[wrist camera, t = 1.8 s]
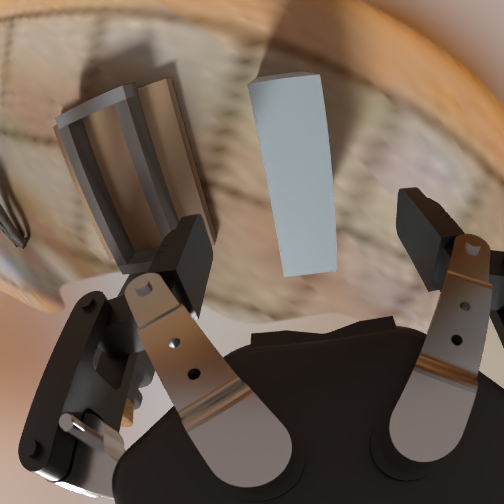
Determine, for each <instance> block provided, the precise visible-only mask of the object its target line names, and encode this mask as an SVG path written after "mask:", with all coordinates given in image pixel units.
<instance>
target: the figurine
mask: <svg viewBox="0 0 504 504" xmlns="http://www.w3.org/2000/svg"><path fill="white" fill-rule="evenodd" d="M0 229H1V230H2V231H3V232H4V233H5V234H6V235H7V236H8V238H9V239H10V240H11V241H12V242H13V243H14V244H15V246H16V247H18V246H19V247H23V249H24V248H25V247H26V245H27V242H28V240H29V239H30V235H29V236H27V237H26V238H23V237H22V236H21V235H20V234H19V232H18V231H17V229H16V228H15V227H14V226H13V224H12V223H11V221H10V219H9V218H8V216H7V214H6V212H5V211H4V209H3V207H2V206H1V205H0Z"/></svg>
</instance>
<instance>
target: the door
mask: <svg viewBox="0 0 504 504" xmlns="http://www.w3.org/2000/svg"><path fill="white" fill-rule="evenodd" d="M248 89H249V94H250V98H251V103H252V108H253V113H254V117H255V122H256V127H257V132H258V137H259V142H260V147H261V152H262V157H263V162H264V167H265V173H266V178H267V183H268V188H269V194H270V199H271V205H272V210H273V216H274V221H275V227H276V232H277V238H278V244H279V249H280V255H281V261H282V267H283V273H284V277H288V276H297V275H306V274H314V273H323V272H331V271H337V245H336V222H335V204H334V189H333V177H332V165H331V155H330V145H329V136H328V128H327V119H326V112H325V104H324V97H323V91H322V84H321V78H320V74H315V73H310V72H304V71H300V72H291V73H283V74H276V75H269V76H263V77H257V78H255V79H254V80H252V81H251V82H250V83H248Z"/></svg>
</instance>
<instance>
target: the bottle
mask: <svg viewBox="0 0 504 504" xmlns="http://www.w3.org/2000/svg"><path fill="white" fill-rule="evenodd" d="M146 273H147V272H141V273H132V274H130V275H129V277H128V279H127V280H126V282H125V284H124V285H123V287H122V289H121V291H120V293H119V295H118V297H119V296H122V295H125V289H126V287H127V286H128V284H129V283H130V282H131V281H132V280H134V279H135V278H137V277H138V276H140V275H143V274H146ZM101 353H102V350H101V348H100V347H99V346H98V347H97V349H96V352H95V355H94V358H93V365H94V367H95V370H96V368H97V365H98V362H99V359H100V356H101ZM154 372H155V368H154V366H153V364H152V362H151V360H150V358H149V356H148V354H147V352H146V350H143V351H139V352H138V355H137V359H136V363H135V367H134V370H133V374H132V378H131V382H130V386H129V390H128V394H127V399H126V403H125V407H124V412H123V416H122V421H121V425H120V426H124V427H129V426H132V424H133V410H134V409H138V408H139V407H140V405H141V402H142V394H141V393H140V391H139V390H138V388H142V387H145V386H148V385H149V384H150V383H151V381H152V379H153V376H154Z"/></svg>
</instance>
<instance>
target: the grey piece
mask: <svg viewBox="0 0 504 504" xmlns="http://www.w3.org/2000/svg"><path fill="white" fill-rule="evenodd" d="M55 119H56V122H57V125H55V126H54V127H53V128H54V131H55V134H56V137H57V140H58V143H59V145H60V148H61V151H62V154H63V156H64V159H65V162H66V164H67V167H68V169H69V172H70V174H71V177H72V179H73V182H74V184H75V187H76V189H77V191H78V194H79V196H80V198H81V201H82V203H83V205H84V207H85V210H86V212H87V214H88V216H89V218H90V220H91V222H92V225H93V227H94V229H95V231H96V233H97V235H98V237H99V239H100V241H101V243H102V245H103V247H104V249H105V251H106V253H107V255H108V257H109V258H110V259H115V261H116V263H117V265H118V267H119V269H120V271H121V272H122V274H132V273H141V272H147V271H148V269H149V267H150V265H151V263H152V261H153V259H154V257H155V255H156V254H157V251H158V249H159V247H160V245H161V243H162V241H163V239H164V237H165V236H166V235H167V234H168V233H169V232H171V231H172V230H176V228H177V225H178V223H179V221H180V219H181V217H183V216H188V215H194V214H201V215H202V217H203V220H204V223H205V226H206V230H207V233H208V236H209V239H210V242H211V245H215V242H216V238H217V236H216V233H215V230H214V227H213V223H212V220H211V217H210V213H209V210H208V207H207V203H206V200H205V197H204V193H203V190H202V186H201V183H200V180H199V176H198V173H197V169H196V166H195V162H194V159H193V155H192V152H191V148H190V145H189V141H188V137H187V134H186V130H185V127H184V123H183V119H182V116H181V112H180V108H179V105H178V101H177V97H176V93H175V89H174V86H173V82H172V78H167V79H163V80H160V81H157V82H154V83H151V84H148V85H145V86H143V87H140V88H137V87H136V84H135V83H131V84H126V85H122V86H120V87H118V88H115V89H113V90H110V91H108V92H106V93H104V94H101V95H99V96H97V97H95V98H93V99H91V100H88V101H86V102H84V103H82V104H80V105H78V106H76V107H74V108H72V109H70V110H69V111H67V112H65V113H63V114H61V115H59V116H57V117H56V118H55Z"/></svg>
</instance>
